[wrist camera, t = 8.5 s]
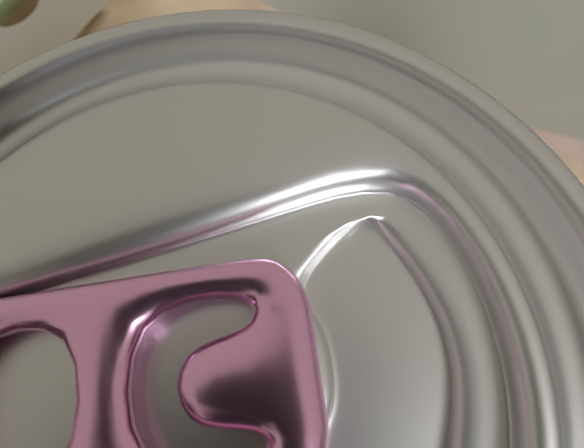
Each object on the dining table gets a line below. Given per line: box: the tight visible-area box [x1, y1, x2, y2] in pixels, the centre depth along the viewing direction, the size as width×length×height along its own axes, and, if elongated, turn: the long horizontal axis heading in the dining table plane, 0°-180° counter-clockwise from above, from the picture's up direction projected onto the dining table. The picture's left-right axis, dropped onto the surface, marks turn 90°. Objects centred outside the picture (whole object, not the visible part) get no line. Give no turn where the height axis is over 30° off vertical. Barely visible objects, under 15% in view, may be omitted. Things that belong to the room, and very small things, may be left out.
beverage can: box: [0, 9, 584, 448], centre depth 9 cm, size 6×6×15 cm
